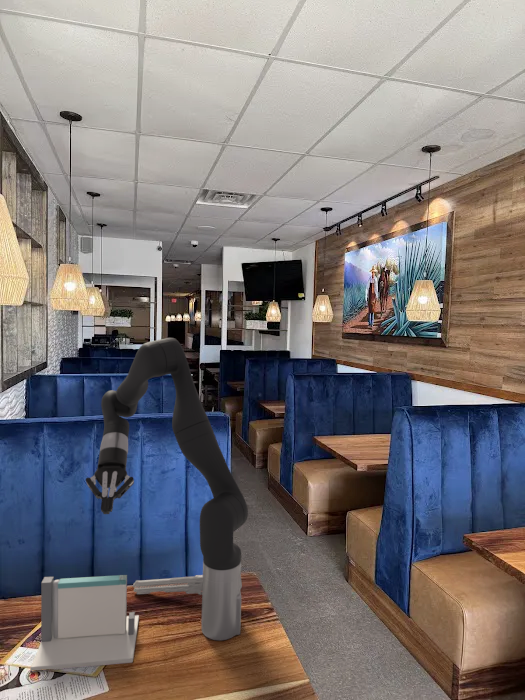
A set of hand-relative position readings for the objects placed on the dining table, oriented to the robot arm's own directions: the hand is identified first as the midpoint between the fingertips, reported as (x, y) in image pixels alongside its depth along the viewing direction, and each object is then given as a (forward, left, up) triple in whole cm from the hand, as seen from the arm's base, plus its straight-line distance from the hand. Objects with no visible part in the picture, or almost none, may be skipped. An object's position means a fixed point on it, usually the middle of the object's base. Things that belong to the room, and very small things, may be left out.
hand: (106, 513), depth 121 cm
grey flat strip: (-21, -1, -25) cm, 33 cm away
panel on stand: (+1, +14, -25) cm, 29 cm away
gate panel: (+1, +12, -24) cm, 27 cm away
